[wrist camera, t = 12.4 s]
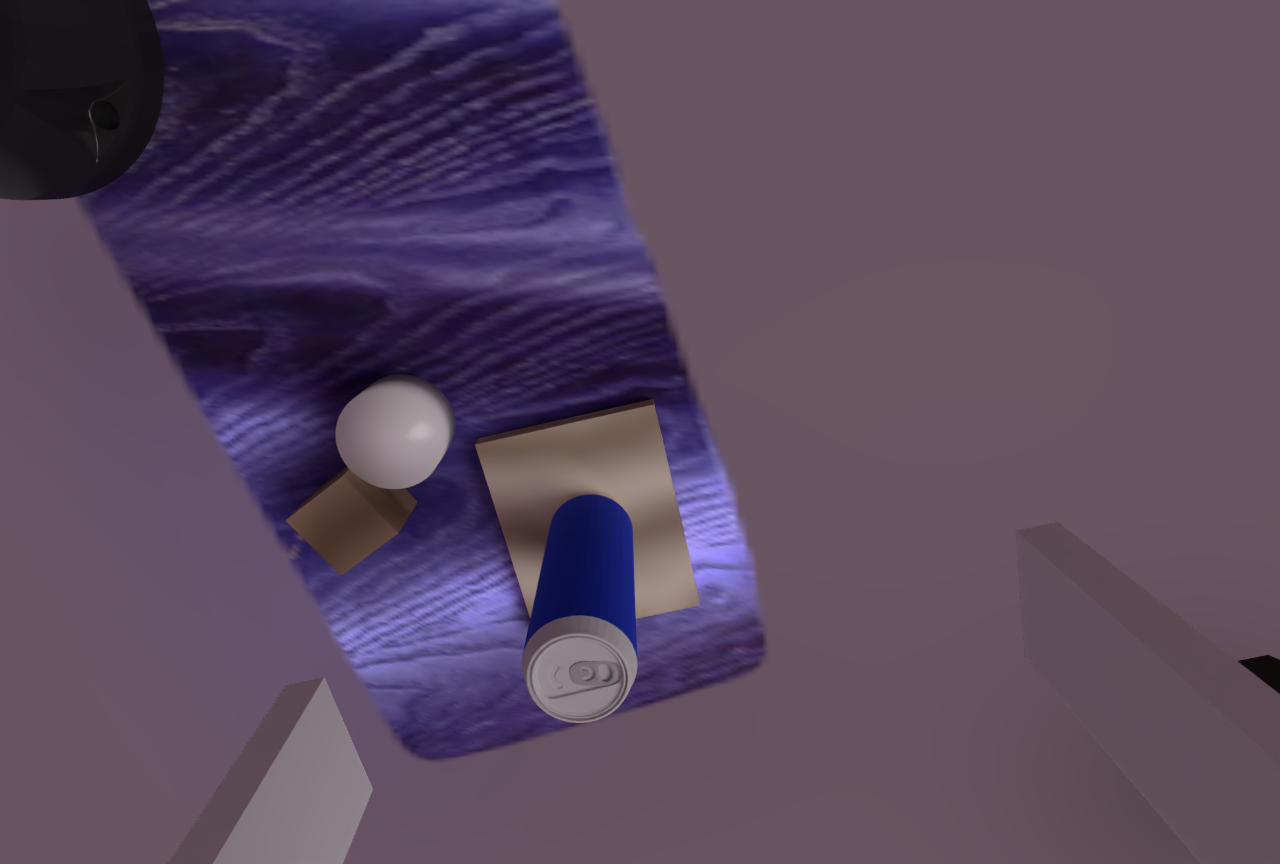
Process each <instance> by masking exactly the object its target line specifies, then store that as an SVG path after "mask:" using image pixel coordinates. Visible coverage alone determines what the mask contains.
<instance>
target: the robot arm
mask: <svg viewBox="0 0 1280 864" xmlns="http://www.w3.org/2000/svg"><path fill="white" fill-rule="evenodd" d="M163 84H164V70H163V58H162V51H161V45H160V40H159V36H158V32H157V28H156V25H155V21H154V19H153V16H152V13H151V10H150V8H149V5H148V3H147V1H146V0H0V198H2V199H10V200H48V199H64V198H71V197H76V196H80V195H84V194H87V193H90V192H93V191H95V190H98V189H100V188H102V187H104V186H106V185H107V184H109V183H111V182H112V181H114V180H115V179H117V178H118V177H119V176H121V175H122V174H123V173H124V172H125V171H126V170H128V169H129V168H130V167H131V166H132V164H133V163H134V162H135V161H136V160H137V159H138V157H139V156H140V155H141V153H142V152H143V150H144V149H145V147H146V145H147V144H148V142H149V140H150V138H151V136H152V134H153V131H154V129H155V126H156V123H157V120H158V117H159V113H160V108H161V104H162V96H163ZM1016 543H1017V555H1018V556H1017V557H1018V571H1019V584H1020V599H1021V613H1022V628H1023V641H1024V656H1025V658H1026V659H1027V660H1028V661H1029V662H1030V664H1031V665H1032V666H1033V667H1034V668H1035V669H1036V670H1037V672H1038V673H1039V674H1040V675H1041V677H1042V678H1043V679H1044V680H1045V681H1046V682H1047V684H1049V686H1050V687H1051V688H1052V689H1053V691H1054V692H1055V693H1056V694H1057V695H1058V696H1059V698H1060V699H1061V700H1062V701H1063V702H1064V704H1065V705H1066V706H1067V707H1068V708H1069V709H1070V710H1071V712H1072V713H1073V714H1074V715H1075V716H1076V718H1077V719H1078V720H1079V721H1080V722H1081V723H1082V725H1083V726H1084V727H1085V728H1086V729H1087V731H1088V732H1089V733H1090V734H1091V735H1092V736H1093V738H1094V739H1095V740H1096V741H1097V742H1098V744H1099V745H1100V746H1101V747H1102V748H1103V749H1104V751H1106V753H1107V754H1108V755H1109V756H1110V757H1111V759H1112V760H1113V761H1114V762H1115V764H1116V765H1117V766H1118V767H1119V768H1120V769H1121V770H1122V772H1123V773H1124V774H1125V775H1126V776H1127V778H1128V779H1129V780H1130V781H1131V782H1132V783H1133V785H1134V786H1135V787H1136V788H1137V789H1138V791H1139V792H1140V793H1141V794H1142V795H1143V796H1144V798H1145V799H1146V800H1147V801H1148V802H1149V803H1150V804H1151V806H1152V807H1153V808H1154V809H1155V811H1156V812H1157V813H1158V814H1159V815H1160V816H1161V818H1162V819H1163V820H1164V821H1165V822H1166V823H1167V825H1168V826H1169V827H1170V828H1171V829H1172V830H1173V832H1174V833H1175V834H1176V835H1177V836H1178V838H1179V839H1180V840H1181V841H1182V842H1183V843H1184V845H1185V846H1186V847H1187V848H1188V849H1189V850H1190V852H1191V853H1192V854H1193V855H1194V856H1195V858H1196V859H1197V860H1198V861H1199V862H1200V863H1201V864H1280V660H1279V659H1276V658H1274V657H1272V656H1270V655H1265V656H1260V657H1256V658H1250V659H1246V660H1240V661H1236V660H1235V659H1234V658H1232V657H1231V656H1230V655H1229V654H1227V653H1226V652H1225V651H1223V650H1222V649H1221V648H1220V647H1218V646H1217V645H1216V644H1215V643H1213V642H1212V641H1211V640H1209V639H1208V638H1207V637H1205V636H1204V635H1203V634H1202V633H1200V632H1199V631H1198V630H1197V629H1195V628H1194V627H1193V626H1191V625H1190V624H1189V623H1187V622H1186V621H1185V620H1184V619H1182V618H1181V617H1180V616H1178V615H1177V614H1176V613H1175V612H1173V611H1172V610H1171V609H1169V608H1168V607H1167V606H1166V605H1164V604H1163V603H1161V602H1160V601H1159V600H1158V599H1157V598H1155V597H1154V596H1153V595H1151V594H1150V593H1149V592H1148V591H1146V590H1145V589H1144V588H1142V587H1141V586H1140V585H1139V584H1137V583H1136V582H1135V581H1133V580H1132V579H1131V578H1130V577H1128V576H1127V575H1126V574H1124V573H1123V572H1122V571H1120V570H1119V569H1118V568H1117V567H1115V566H1114V565H1113V564H1112V563H1110V562H1109V561H1108V560H1106V559H1105V558H1104V557H1102V556H1101V555H1100V554H1099V553H1097V552H1096V551H1095V550H1093V549H1092V548H1091V547H1090V546H1088V545H1087V544H1086V543H1084V542H1083V541H1082V540H1081V539H1079V538H1078V537H1077V536H1075V535H1074V534H1073V533H1072V532H1070V531H1069V530H1068V529H1067V528H1065V527H1064V526H1063V525H1061V524H1060V523H1059V522H1055V523H1050V524H1046V525H1040V526H1036V527H1031V528H1026V529H1022V530H1017V531H1016ZM372 790H373V788H372V786H371V784H370V782H369V779H368V777H367V775H366V772H365V770H364V768H363V765H362V763H361V761H360V759H359V756H358V754H357V752H356V749H355V747H354V745H353V742H352V741H351V738H350V736H349V733H348V731H347V729H346V726H345V724H344V722H343V720H342V717H341V715H340V712H339V710H338V708H337V706H336V703H335V701H334V699H333V696H332V694H331V692H330V689H329V687H328V685H327V682H326V680H325V678H318V679H314V680H309V681H304V682H300V683H295V684H290V685H286V686H285V688H284V689H283V690H282V692H281V693H280V695H279V697H278V698H277V699H276V701H275V703H274V704H273V705H272V707H271V708H270V710H269V711H268V713H267V714H266V716H265V717H264V719H263V721H262V722H261V723H260V725H259V727H258V728H257V729H256V731H255V733H254V734H253V735H252V737H251V739H250V740H249V742H248V743H247V745H246V746H245V748H244V749H243V751H242V752H241V754H240V755H239V757H238V758H237V760H236V761H235V763H234V764H233V766H232V767H231V769H230V770H229V772H228V773H227V775H226V776H225V778H224V779H223V781H222V782H221V784H220V785H219V787H218V788H217V790H216V791H215V793H214V794H213V796H212V797H211V799H210V800H209V802H208V803H207V805H206V806H205V808H204V809H203V811H202V812H201V814H200V815H199V817H198V818H197V820H196V821H195V823H194V824H193V826H192V827H191V829H190V830H189V832H188V833H187V835H186V836H185V838H184V839H183V841H182V842H181V844H180V845H179V847H178V848H177V850H176V851H175V853H174V854H173V856H172V857H171V859H170V860H169V862H168V863H167V864H343V862H344V859H345V856H346V854H347V852H348V849H349V847H350V844H351V842H352V840H353V837H354V835H355V832H356V830H357V827H358V825H359V822H360V820H361V817H362V815H363V813H364V810H365V808H366V805H367V803H368V800H369V798H370V795H371V793H372Z"/></svg>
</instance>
